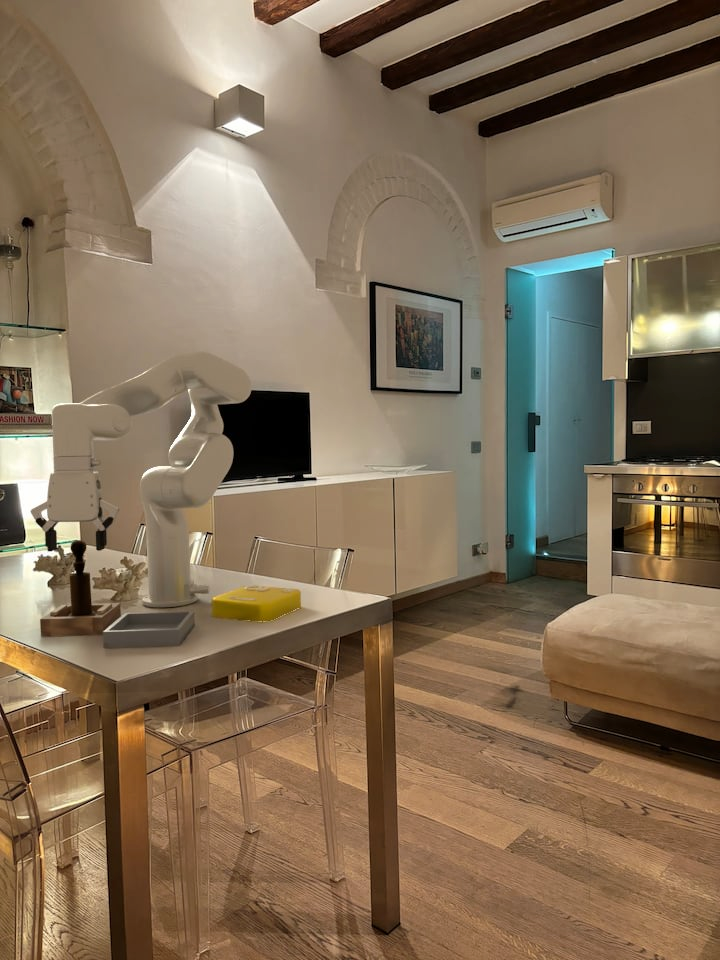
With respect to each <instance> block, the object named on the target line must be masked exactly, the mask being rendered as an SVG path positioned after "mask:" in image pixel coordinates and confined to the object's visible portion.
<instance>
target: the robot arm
mask: <svg viewBox="0 0 720 960" xmlns="http://www.w3.org/2000/svg"><path fill="white" fill-rule="evenodd" d="M252 387H253V386H252V381H251V378H250V376H249V375H248V373H247V372H246V371H245V370H244V369H243V368H241V367H239V366H237V365H235V364H233V363H231V362H230V361H228V360H225V359H224V358H222V357H219V356H217V355H216V354H213V353H210V352H206V351H195V352H194V351H193V352H183V353H176V354H173V355H170V356H169V357H166V358H165V359H163V360H161V361H160V362H159V363H157V364H155V365H153V366H152V367H151V368H149V369H147V370H146V371H144V372H143V373H141V374H139V375H137V376H135V377H133V378H130V379H127V380H125V381H123V382H120V383H118V384H116V385H114V386H112V387H108V388H106V389H104V390H101V391H99V392H97V393H95V394H93V395H91V396H90V397H87V398H86V399H84V400H82V401H81V402H79V403H73V402H72V403H71V402H70V403H58V404H56V405H54V406H53V408H52V410H51V423H52V424H51V426H52V427H51V428H52V448H53V449H52V450H53V451H52V452H53V455H52V457H53V459H52V461H53V472H50V474H49V480H48V484H47V485H48V486H47V496H46V497H47V498H46V501H44V502H43V503H41V504H40V505H37V506H36V507H33V508H32V509H31V510H30V514H31V515H32V517H33V519H34V520H35V524H36V525H38V526H39V527H40V528H41V529H42V531H43V532H44V540H45V543H44V545H45V547H46V549H47V552H53V551H56V550H57V548H58V543H57V541H58V539H57V537H58V536H57V535H58V534H57V530H56V529H55V528H56V526H57V525H58V524H59V523H80V522H81V523H84V522H85V523H86V522H87V523H88V522H91V523H92V524H93V525H94V526H95V527H96V529H97V530H96V531H95V549H96V551H97V552H99V551H102V550H105V547H106V546H107V544H108V543H107V539H108V536H107V534H108V533H107V529H109V527H110V526H112V524H113V523H114V522H115V521H116V518H117V516H118V514H119V512H120V508H119V507H118V506H116V505H114V504H112V503H109V502H107V501H106V500H104V496H103V489H102V483H101V478H100V473H99V471H95V469H96V467H100V466H101V464H102V462H101V459H100V458H99V459H97V458H96V457H95V456H94V441H116V440H119V439H122V438H124V437H125V436H127V435H128V434H129V432H130V431H131V428H132V425H133V419H132V417H135V416H141V415H145V414H149V413H152V412H155V411H157V410H160V409H162V408H163V407H164V406H165V405H167V404H168V403H169V402H172V401H173V400H174V399H176V398H178V396H180V395H181V394H183V393H184V392H186V391H188V396H189V401H190V405H191V416H190V418H189V420H188V422H187V423H186V425H185V426H184V427H183V429H182V430H181V431H180V433H179V435H178V436H177V438H176V439H175V440H174V442H173V443H172V445H171V446H170V449H169V451H168V455H167V460H168V463H169V465H161V466H159V465H158V466H155V467H152V468H150V469H148V470H147V471H145V472H144V473H143V475H142V477H141V478H140V482H139V493H140V498H141V502H142V506H143V511H144V517H145V518H144V520H145V529H146V531H145V532H146V536H145V537H146V554H147V555H146V557H147V559H146V560H147V579H148V581H147V582H148V595H146V596H144V597H143V598H142V599H141V600H142V601H141V603H142V605H143V606H146V607H149V608H172V607H173V608H174V607H181V606H187V605H191V604H193V603H195V602H197V601H198V599H199V594H201V595H208V594H210V589H211V588H210V585H208V584H207V585H206V584H196V583H195V579H192V578H191V577H192V576H191V558H190V557H191V556H190V555H191V553H190V535H189V533H190V529H189V528H190V527H189V523H188V518H187V516H186V514H185V512H184V510H183V509H199V508H202V507H203V506H206V505H207V503H209V502H210V500H211V499H212V498H213V496H214V494H215V493H216V491H217V490H218V489H219V487H220V485H221V483H222V482H223V480H224V478H225V477H226V475H227V474H228V472H229V470H230V469H231V467H232V464H233V459H234V446H233V444H232V441H231V440H230V438H228V437H227V436H226V435H225V434H223V432H224V421H223V418H222V416H221V413H220V410H219V406H218V405H230V404H240V403H243V402H245V401H246V400H247V399H248V398H249V397H250V395H251V392H252ZM105 510H106V511H108V512H109V513H108V514H109V515H108V517H107V518H106V519H105V520H104V518H103V517H104V516H105V515H104V513H105ZM44 511H46V513H47V519H48V520H46V519H45V517H43V515H42V512H44Z"/></svg>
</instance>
